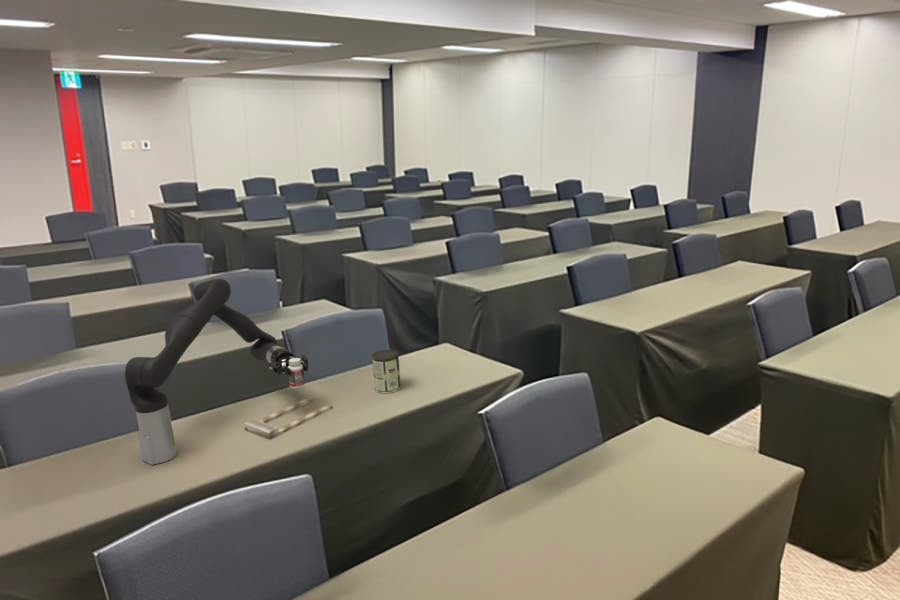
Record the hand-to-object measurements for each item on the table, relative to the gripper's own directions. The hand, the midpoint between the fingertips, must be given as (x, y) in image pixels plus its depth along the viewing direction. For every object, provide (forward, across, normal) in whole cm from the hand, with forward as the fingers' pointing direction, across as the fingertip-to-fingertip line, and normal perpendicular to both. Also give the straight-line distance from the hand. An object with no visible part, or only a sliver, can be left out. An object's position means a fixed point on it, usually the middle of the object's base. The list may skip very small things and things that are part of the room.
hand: (298, 370), depth 219 cm
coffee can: (-1, +35, +17) cm, 39 cm away
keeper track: (-1, -5, +17) cm, 18 cm away
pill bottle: (-3, 0, +7) cm, 7 cm away
